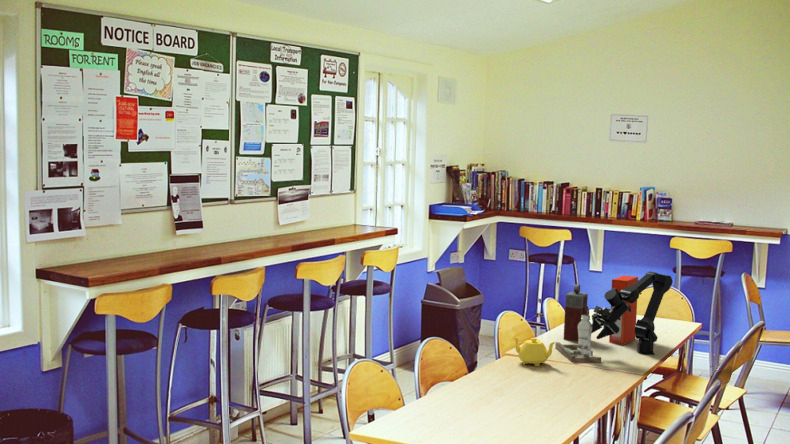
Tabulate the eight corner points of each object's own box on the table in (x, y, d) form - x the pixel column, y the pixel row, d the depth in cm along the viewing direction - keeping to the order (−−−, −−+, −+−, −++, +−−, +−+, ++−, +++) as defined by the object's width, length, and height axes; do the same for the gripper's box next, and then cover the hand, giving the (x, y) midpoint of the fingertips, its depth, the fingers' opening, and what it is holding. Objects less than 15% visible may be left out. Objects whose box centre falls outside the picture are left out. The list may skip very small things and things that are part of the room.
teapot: (560, 362, 349) (561, 337, 348) (550, 370, 336) (551, 344, 335) (517, 356, 358) (518, 331, 357) (506, 363, 345) (507, 338, 344)
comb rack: (583, 348, 375) (583, 340, 375) (601, 362, 351) (601, 354, 351) (555, 348, 374) (555, 340, 374) (571, 362, 350) (571, 353, 350)
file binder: (608, 342, 389) (612, 279, 387) (619, 336, 404) (623, 275, 401) (624, 345, 385) (628, 281, 382) (635, 338, 399) (638, 277, 396)
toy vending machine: (585, 342, 387) (588, 287, 385) (563, 339, 393) (566, 284, 390) (590, 339, 395) (592, 284, 393) (568, 336, 401) (571, 282, 398)
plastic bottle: (591, 360, 353) (593, 317, 352) (576, 359, 355) (578, 316, 353) (590, 357, 360) (593, 314, 358) (575, 356, 361) (578, 313, 359)
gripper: (596, 296, 365) (573, 319, 365) (614, 304, 347) (590, 329, 346) (611, 312, 368) (588, 335, 367) (629, 321, 349) (605, 345, 348)
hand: (592, 336), depth 357 cm, fingers open, 9 cm apart
